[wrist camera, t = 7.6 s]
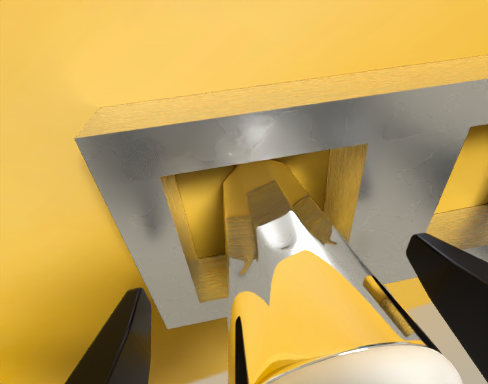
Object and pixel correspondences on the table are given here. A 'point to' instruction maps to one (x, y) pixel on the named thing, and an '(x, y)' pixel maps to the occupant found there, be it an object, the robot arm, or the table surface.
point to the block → (287, 144)
